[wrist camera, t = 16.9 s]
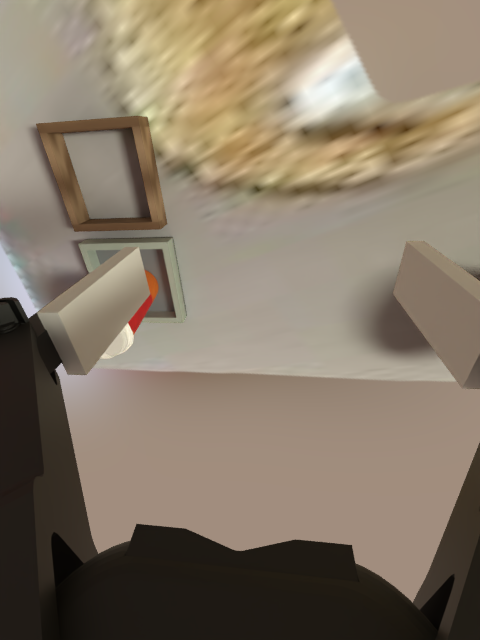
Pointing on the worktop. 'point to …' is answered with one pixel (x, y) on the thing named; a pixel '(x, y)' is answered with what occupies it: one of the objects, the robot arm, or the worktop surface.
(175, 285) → the green square tray
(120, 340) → the coffee cup
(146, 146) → the walnut tray
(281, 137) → the worktop surface
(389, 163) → the worktop surface
